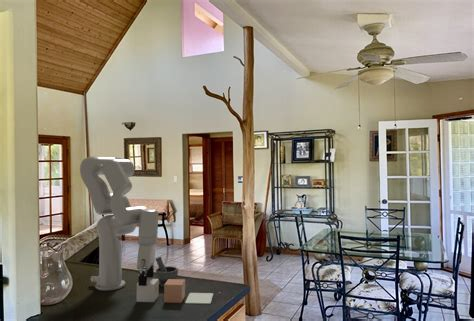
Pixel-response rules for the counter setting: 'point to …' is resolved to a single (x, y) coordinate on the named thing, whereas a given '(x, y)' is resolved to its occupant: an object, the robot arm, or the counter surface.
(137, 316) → the counter surface
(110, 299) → the counter surface
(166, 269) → the mortar and pestle
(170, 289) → the orange-brown cube
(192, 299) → the sage pad
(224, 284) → the counter surface
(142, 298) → the white cube
